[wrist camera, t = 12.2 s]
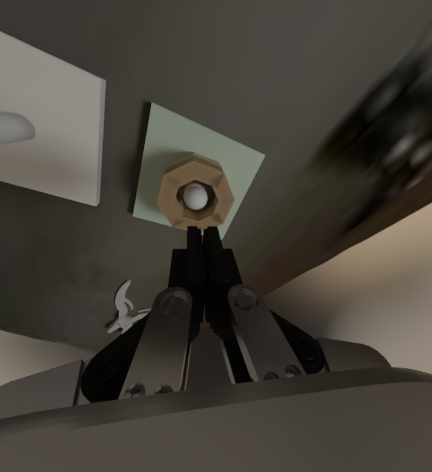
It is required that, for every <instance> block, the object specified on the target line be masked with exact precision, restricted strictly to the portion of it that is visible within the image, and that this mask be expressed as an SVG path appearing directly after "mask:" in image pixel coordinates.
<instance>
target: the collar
mask: <svg viewBox="0 0 432 472" xmlns="http://www.w3.org/2000/svg"><path fill="white" fill-rule="evenodd" d="M193 180H197V181H200V182H203V183H205V184H208V185H211V186H212V187H213V191H212V194H211V196H210V199H209V200H207V203H206V205H205V206H204V207H203V208H201V209H198V210H194V209H191V208H189V207H188V206H187V205H186V204H185V201H184V200H183V198H182V197H181V195H180V193H179V191H178V188H179V187H180V186H183V185H185V184H187V183H189V182H191V181H193ZM234 201H235V199H234V196H233V194H232V191H231V189H230V186H229V183H228V181H227V178H226V176H225V173H224V171H223V169H222V167H221V165H220V164H219V162H217V161H214V160H212V159H210V158H207V157H205V156H202V155H200V154H197V153H195V152H192V153H190V154H188V155H186V156H184V157H181V158H179V159H177V160H175V161H173V162H171V163H169V164H168V166H167V168H166V171H165V173H164V175H163V179H162V184H161V188H160V192H159V196H158V201H157V205H158V207H159V208H160V210H161V211H162V212H163V214H164V215H165V217H166V218H167V220H168V221H169V223H170V224H171V225H172V227H174V228H178V229H182V230H186V231H187V226H197V229H201V233H203V231H204V229H207V226H219V225H222V224H223V223H224V221H225V219H226V217H227V215H228V213H229V211H230V209H231V207H232V205H233V203H234Z"/></svg>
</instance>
